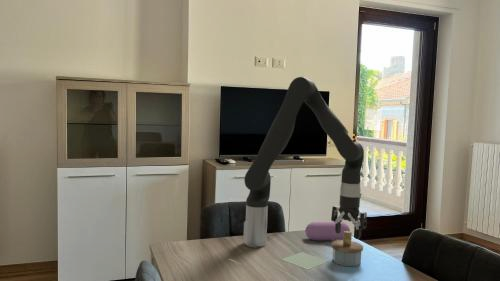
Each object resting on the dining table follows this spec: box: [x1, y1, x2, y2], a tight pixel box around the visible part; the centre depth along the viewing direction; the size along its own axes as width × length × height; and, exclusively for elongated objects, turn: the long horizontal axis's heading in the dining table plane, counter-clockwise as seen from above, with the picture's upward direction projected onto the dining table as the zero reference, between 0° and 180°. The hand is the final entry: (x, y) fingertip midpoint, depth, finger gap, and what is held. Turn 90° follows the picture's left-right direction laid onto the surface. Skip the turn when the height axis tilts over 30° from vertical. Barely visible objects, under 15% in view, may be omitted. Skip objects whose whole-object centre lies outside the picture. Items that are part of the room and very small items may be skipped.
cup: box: [332, 248, 362, 267], centre depth 158 cm, size 10×10×6 cm
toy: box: [305, 221, 351, 241], centre depth 185 cm, size 8×9×20 cm
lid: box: [330, 231, 364, 253], centre depth 157 cm, size 12×12×6 cm
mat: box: [280, 251, 329, 270], centre depth 158 cm, size 13×13×1 cm
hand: (347, 235), depth 157 cm, fingers open, 8 cm apart
